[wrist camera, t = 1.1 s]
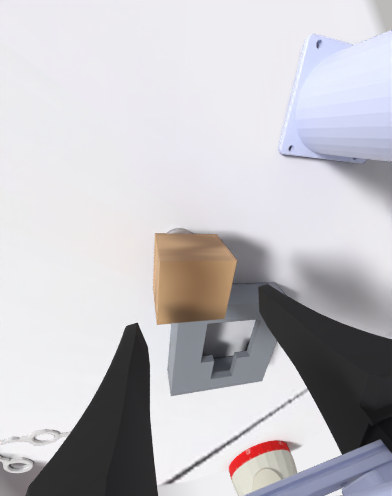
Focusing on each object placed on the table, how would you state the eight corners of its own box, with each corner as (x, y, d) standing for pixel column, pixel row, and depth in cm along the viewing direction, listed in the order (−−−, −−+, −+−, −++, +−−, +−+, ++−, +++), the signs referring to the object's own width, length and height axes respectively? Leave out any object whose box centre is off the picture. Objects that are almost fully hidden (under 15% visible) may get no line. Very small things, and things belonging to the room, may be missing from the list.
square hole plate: (274, 282, 27) (291, 300, 24) (250, 358, 33) (262, 381, 30) (174, 286, 24) (179, 308, 21) (167, 369, 30) (170, 396, 27)
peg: (206, 221, 21) (237, 260, 15) (200, 266, 23) (224, 319, 17) (152, 219, 20) (159, 261, 13) (151, 267, 22) (156, 324, 16)
